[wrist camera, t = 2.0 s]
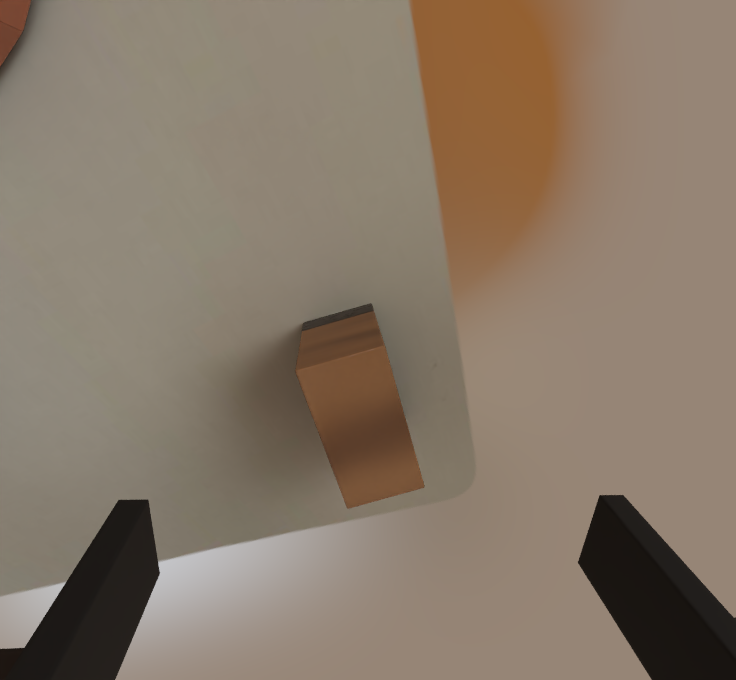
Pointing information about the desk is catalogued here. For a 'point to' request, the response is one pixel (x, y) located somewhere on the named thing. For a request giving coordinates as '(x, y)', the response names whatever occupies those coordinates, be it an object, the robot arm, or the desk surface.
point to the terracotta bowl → (11, 24)
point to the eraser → (357, 406)
